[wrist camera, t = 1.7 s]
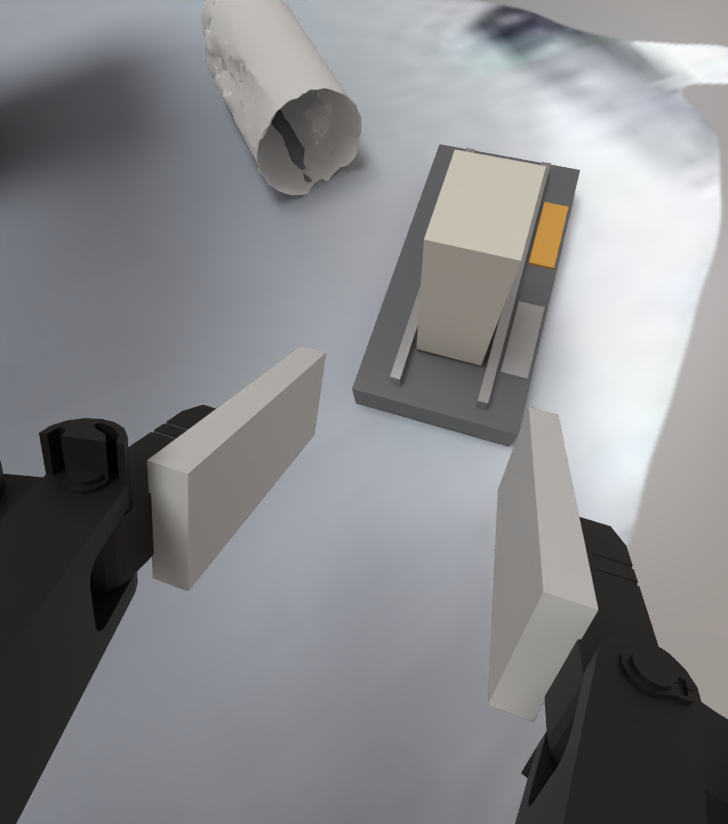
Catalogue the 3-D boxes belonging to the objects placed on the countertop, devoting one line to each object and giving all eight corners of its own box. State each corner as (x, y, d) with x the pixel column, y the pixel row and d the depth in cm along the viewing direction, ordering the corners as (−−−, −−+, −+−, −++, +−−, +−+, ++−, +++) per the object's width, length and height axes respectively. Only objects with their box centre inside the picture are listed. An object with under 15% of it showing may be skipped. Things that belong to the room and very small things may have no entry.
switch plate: (507, 446, 30) (521, 429, 26) (355, 403, 31) (350, 382, 28) (568, 197, 35) (585, 158, 32) (437, 171, 37) (440, 132, 34)
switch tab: (481, 365, 28) (520, 260, 19) (416, 348, 29) (423, 239, 20) (500, 295, 30) (545, 166, 20) (438, 281, 31) (454, 149, 21)
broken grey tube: (281, 35, 44) (256, -78, 36) (367, 174, 38) (359, 73, 30) (200, 66, 43) (158, -42, 36) (274, 212, 37) (242, 119, 30)
